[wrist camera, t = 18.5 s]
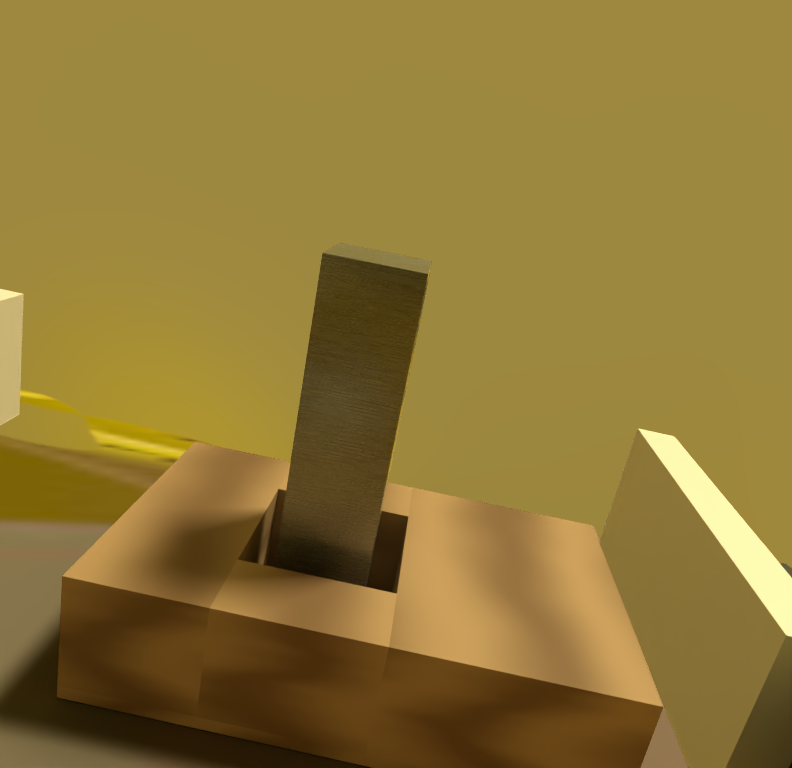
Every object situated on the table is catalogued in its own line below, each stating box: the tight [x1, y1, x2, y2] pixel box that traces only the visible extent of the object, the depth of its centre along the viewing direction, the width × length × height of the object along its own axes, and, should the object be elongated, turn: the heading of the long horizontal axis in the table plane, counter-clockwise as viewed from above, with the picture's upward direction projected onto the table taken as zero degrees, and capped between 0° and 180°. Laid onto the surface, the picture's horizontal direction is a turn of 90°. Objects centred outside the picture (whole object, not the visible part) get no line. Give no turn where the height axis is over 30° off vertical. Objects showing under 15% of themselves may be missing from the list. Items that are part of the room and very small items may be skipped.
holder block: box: [57, 442, 663, 768], centre depth 29 cm, size 20×12×5 cm, turn 85°
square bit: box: [275, 243, 432, 587], centre depth 27 cm, size 4×4×16 cm
